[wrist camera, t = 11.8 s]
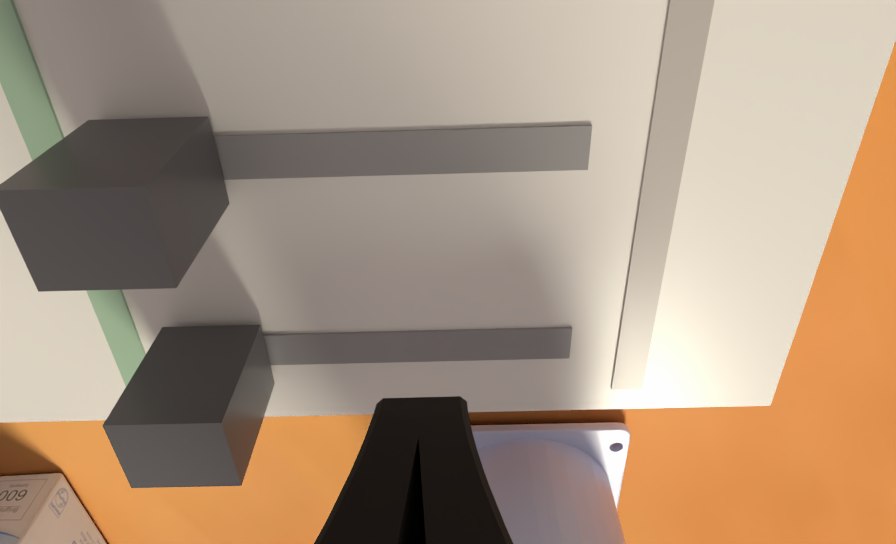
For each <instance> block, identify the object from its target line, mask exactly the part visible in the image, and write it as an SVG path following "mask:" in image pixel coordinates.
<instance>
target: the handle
mask: <svg viewBox="0 0 896 544" xmlns="http://www.w3.org/2000/svg"><path fill="white" fill-rule="evenodd" d="M274 384H275V382H274V378H273V374H272V370H271V365H270V361H269V357H268V353H267V349H266V345H265V340H264V336H263V332H262V328H261V325H226V326H184V327H162V329H161V330H160V332H159V334H158V335H157V337H156V338H155V340H154V342H153V343H152V345H151V347H150V348H149V350H148V352H147V353H146V355H145V357H144V358H143V360H142V362H141V363H140V365H139V366H138V368H137V370H136V371H135V373H134V375H133V376H132V378H131V380H130V381H129V383H128V385H127V386H126V388H125V390H124V391H123V393H122V395H121V396H120V398H119V399H118V401H117V403H116V404H115V406H114V408H113V409H112V411H111V413H110V414H109V416H108V418H107V419H106V421H105V423H104V424H103V427H104V430H105V432H106V434H107V436H108V438H109V440H110V443H111V445H112V447H113V449H114V451H115V453H116V455H117V458H118V460H119V462H120V464H121V466H122V468H123V471H124V473H125V475H126V477H127V479H128V481H129V484H130V486H131V488H151V487H200V486H241V485H242V482H243V479H244V476H245V473H246V470H247V467H248V464H249V461H250V458H251V455H252V451H253V448H254V445H255V442H256V439H257V436H258V433H259V430H260V427H261V424H262V421H263V418H264V415H265V412H266V409H267V406H268V403H269V400H270V397H271V393H272V390H273V387H274Z"/></svg>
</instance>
